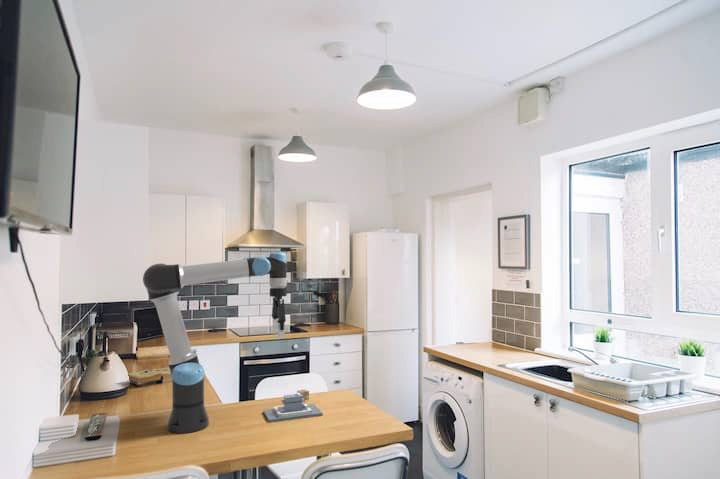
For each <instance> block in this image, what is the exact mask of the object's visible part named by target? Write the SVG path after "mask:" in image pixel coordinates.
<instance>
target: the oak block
mask: <svg viewBox="0 0 720 479" xmlns="http://www.w3.org/2000/svg"><path fill="white" fill-rule="evenodd" d="M296 393H300V394H301V395H302V398H303V399H304V400H306V401H310V391H309V390H307V389H300V390H299V389H298V390H296Z"/></svg>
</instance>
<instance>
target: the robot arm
mask: <svg viewBox="0 0 720 479" xmlns="http://www.w3.org/2000/svg"><path fill="white" fill-rule="evenodd" d="M287 264H288V262H287V254H286V253H285V252H270V253H269V255H268V257H264V256H258V257H250V256H249V257H244V258H242V259H235V260H234V259H233V260H227V261H226V260H225V261H218V262H217V261H216V262H207V263H199V264H192V265H184V266H183V265H181V264H179V263H177V264H165V263H155V264H153V265H151V266H149V267H148V268H147V269H146V270H144V273H143V274H142V275H143V276H142V282H143V285H144V287H145V288H146V291H147V294H148V298H149V301H151V302H153V303H154V304H155V309H156V311H157V312H156V313H157V315H158V319H159V322H160V325H161V330H162V334H163V336H164V340H165V343H166V347H167V351H168V354H169V358H170V359H169V360H168V365H167V366H168V367H169V369H170V372H171V376H172V382H171V383H172V407H171V408H172V409H171V412H170V414H169V418H168V421H167V431H168V432H170V433H175V434H187V433H194V432H197V431H201V430H203V429H206V428H207V427H208V426H209V425H210V424H209V422H210V421H209V416H208V412H207V409H206V405H205V368H204V366H203V365H202V364H201V363H200V361H199V358H198V354H197V353H195V352H194V351H193V350H192V346H191V343H190V341H189V335H188V333H187V330H186V326H185V321H184V319H183V315H182V312H181V311H182V310H181V307H180V305H179V301H178V297H177V296H178V295H179V294H180V289H183V287H185V286H189V285H190V286H191V285H198V284H205V283H206V284H207V283H212V282H219V281H227V280H237V279H242V278H251V277H258V276H259V277H263V276H266V275H269V296H270V297H272V310H271V317H272V334H277V338H278V339H283V338H286V330H285V328H286V327H285V326H286V324H285V323H286V321H287V320H286V319H287V318H286V310H285V299H284V298H283V297H286V296H287V295H288V294H287V293H288V292H287V291H288V289H287V285H288V284H287V283H288V280H289V279H287Z"/></svg>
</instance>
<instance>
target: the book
mask: <svg viewBox="0 0 720 479" xmlns="http://www.w3.org/2000/svg"><path fill="white" fill-rule="evenodd" d="M127 374H128V376H129V380H130V381H129V382H131V383H132V384H134V385H135V386H138V387H141V388H143V387H148V386H154V385H157V384H158V385H163V384H169V383H172V376H171V372H170V369H169V366H166V367H162V368H153V369H144V370H140V371H136V372H133V371H132V372H129V373H127Z"/></svg>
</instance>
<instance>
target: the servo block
mask: <svg viewBox="0 0 720 479" xmlns="http://www.w3.org/2000/svg"><path fill="white" fill-rule="evenodd" d="M280 402H281V404H282V405H283V406H284V412H285V413H288V412H296V411H303V407H302V403H306V401H305V400H304V399H303V398H302V395H301V394H300V393H297V392H296V393H293V394H285V395H283V399H281V401H280Z"/></svg>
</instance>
